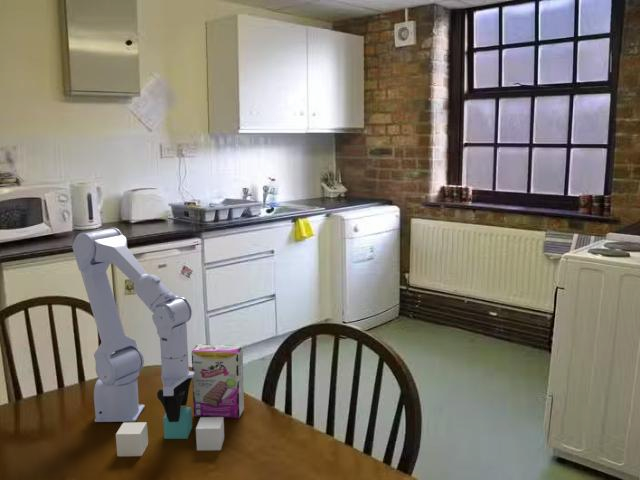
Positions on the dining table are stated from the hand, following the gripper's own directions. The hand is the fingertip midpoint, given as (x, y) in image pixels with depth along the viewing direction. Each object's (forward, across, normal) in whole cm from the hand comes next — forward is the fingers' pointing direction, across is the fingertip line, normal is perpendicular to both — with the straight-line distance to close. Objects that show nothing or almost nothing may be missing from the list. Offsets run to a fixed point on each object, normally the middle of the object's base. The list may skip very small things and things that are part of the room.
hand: (177, 412), depth 132 cm
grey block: (+5, -5, -8) cm, 11 cm away
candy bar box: (+5, +9, -8) cm, 13 cm away
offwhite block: (+5, -7, +8) cm, 12 cm away
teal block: (+5, 0, 0) cm, 5 cm away
